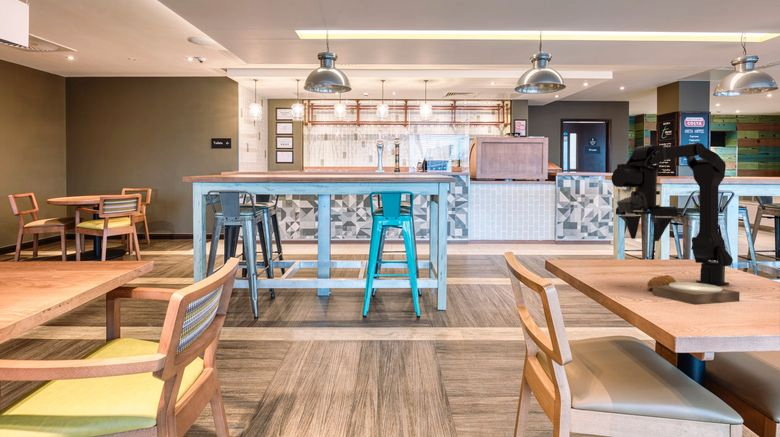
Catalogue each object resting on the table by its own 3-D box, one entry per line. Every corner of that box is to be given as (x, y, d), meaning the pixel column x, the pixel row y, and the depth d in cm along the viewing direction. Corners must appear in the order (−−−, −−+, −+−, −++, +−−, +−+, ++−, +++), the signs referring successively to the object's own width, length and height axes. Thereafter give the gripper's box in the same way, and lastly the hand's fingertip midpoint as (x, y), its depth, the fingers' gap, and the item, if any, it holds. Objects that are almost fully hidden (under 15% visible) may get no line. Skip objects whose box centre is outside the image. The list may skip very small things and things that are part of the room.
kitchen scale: (694, 292, 140) (695, 280, 140) (739, 300, 127) (739, 288, 127) (652, 294, 135) (652, 283, 135) (694, 304, 122) (694, 291, 122)
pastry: (663, 292, 137) (664, 279, 137) (640, 288, 143) (641, 275, 142) (679, 289, 142) (680, 276, 142) (656, 285, 148) (656, 273, 148)
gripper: (601, 188, 149) (600, 237, 149) (647, 186, 131) (645, 242, 131) (631, 188, 151) (630, 237, 152) (680, 187, 133) (678, 242, 134)
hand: (644, 239), depth 142 cm, fingers open, 9 cm apart
